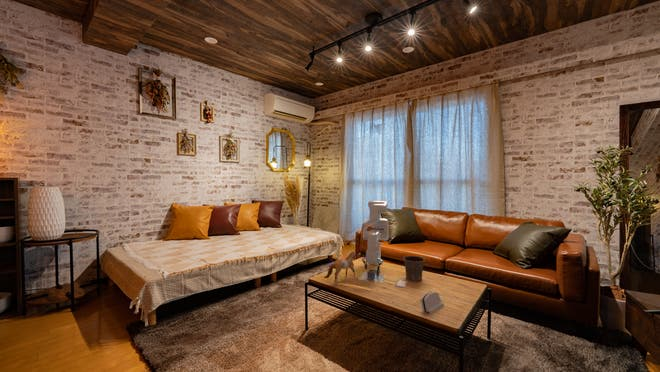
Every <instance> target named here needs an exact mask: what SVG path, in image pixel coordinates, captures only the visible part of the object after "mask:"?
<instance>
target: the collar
mask: <svg viewBox="0 0 660 372" xmlns="http://www.w3.org/2000/svg"><path fill="white" fill-rule="evenodd" d="M371 271H373V272H371ZM366 272H367V278H371V279H375V278H376V277H377V269H372V270H371V268H369V269H367V271H366Z"/></svg>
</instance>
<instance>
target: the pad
mask: <svg viewBox="0 0 660 372" xmlns="http://www.w3.org/2000/svg"><path fill="white" fill-rule="evenodd" d="M407 283H408V281H407V280H399V279H398V280H397V281H396V284H395V285H394V287H397V288H398V287H399V288H403V289H405V288H406V286H407Z"/></svg>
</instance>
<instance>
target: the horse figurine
mask: <svg viewBox="0 0 660 372" xmlns="http://www.w3.org/2000/svg"><path fill="white" fill-rule="evenodd" d="M356 254H357V251H351V252H350V253H349V255H348V256H347V257H346V258H345V259H343V260H342V259H337V260H336V261H335V262H334V263H333V264H331V265H330V266H329V268H328V269H327V274H326V275H325V276H323V278H324V279H329V278H330V276H331V275H332V274H333V271H334V270H335V272H334V281H333V282H334V284H333V285H334V286H336V285H337V283H338V281H339V278H338V276H339V274H340V272H341V271H342V269H343V270H345V276H344V277H345V278H348V277H347V275H348V269H350V270H351V271H352V272H353V278H356V271H355V268H354V265H355V264H354V261H355V260H356V256H357V255H356Z"/></svg>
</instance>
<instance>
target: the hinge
mask: <svg viewBox="0 0 660 372" xmlns="http://www.w3.org/2000/svg"><path fill="white" fill-rule="evenodd" d="M420 302H421V307H422V311H423V312H427V313H429V315H432V314H434V313H436V312H437V311H438V310H441V309H443V307H444V306H445V304H444V303H443V301H442V300H441V297H440V295H439V292H436V291H430V292H427V293H425V294H424V295H423V296H422V297H421V298H420Z"/></svg>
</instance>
